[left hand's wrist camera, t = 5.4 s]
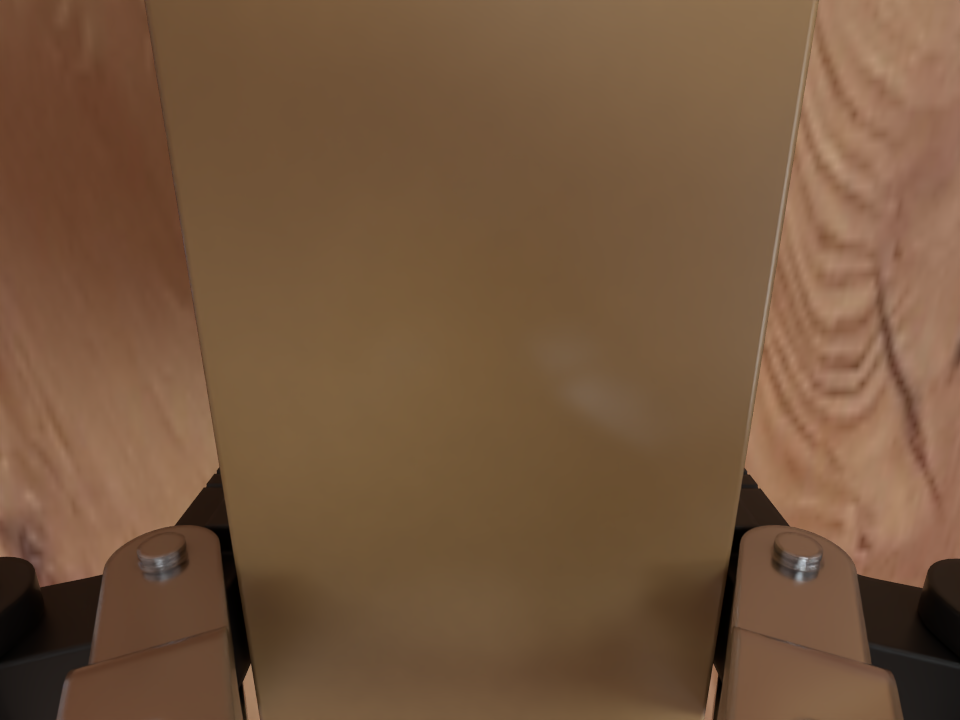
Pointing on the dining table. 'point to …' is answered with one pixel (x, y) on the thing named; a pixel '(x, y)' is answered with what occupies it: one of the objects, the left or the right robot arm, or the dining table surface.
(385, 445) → the box
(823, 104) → the dining table surface
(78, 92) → the dining table surface
